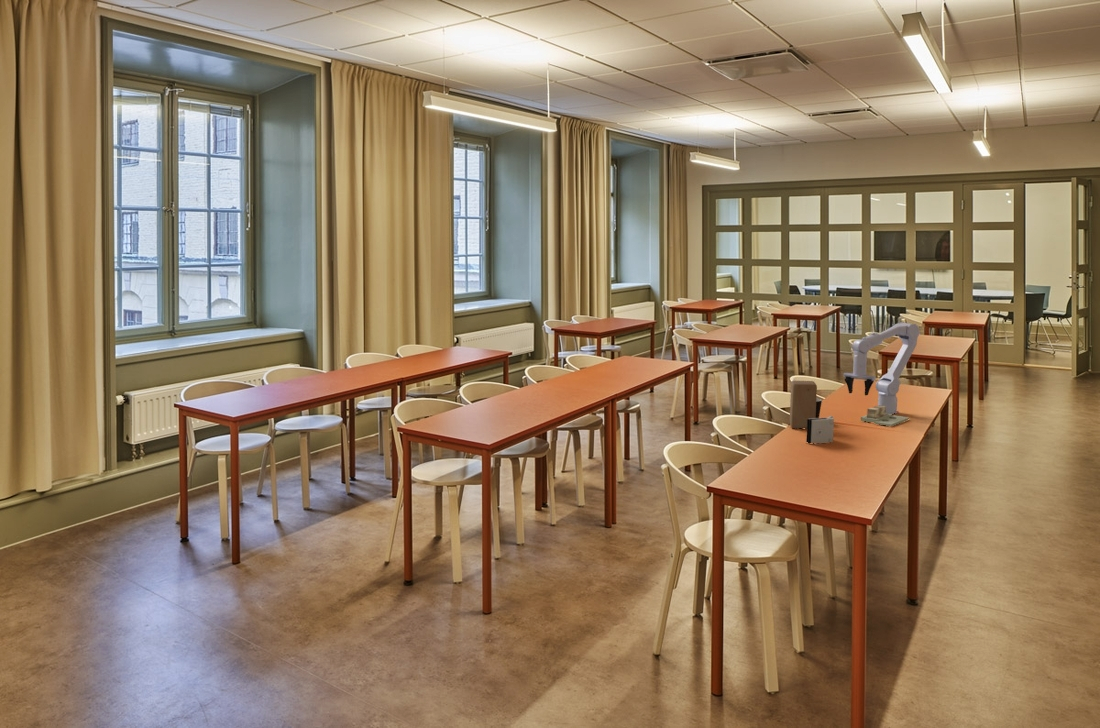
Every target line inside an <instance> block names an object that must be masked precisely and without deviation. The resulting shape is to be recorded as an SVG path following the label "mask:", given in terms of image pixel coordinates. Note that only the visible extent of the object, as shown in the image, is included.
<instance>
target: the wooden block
mask: <svg viewBox="0 0 1100 728" xmlns="http://www.w3.org/2000/svg"><path fill="white" fill-rule="evenodd" d="M817 393H818V387H817V384H816V382H815V381H813V380H792V381H791V383H790V398H789V399H790V401H789V402H790V404H789V405H790V406H789V425H790V427H791V428H792V427H793V428H805V429H804V430H807V419H811V418H816V398H817ZM793 428H792V429H793Z"/></svg>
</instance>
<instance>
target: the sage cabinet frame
mask: <svg viewBox="0 0 1100 728" xmlns="http://www.w3.org/2000/svg"><path fill="white" fill-rule="evenodd" d="M908 419H909V420H910V417H909V416H901V415H895V414H893V415H892V414H888V413H886V416H883V417H880V418H877V419H873V418H867V414H866V415H862V416H860V422H861V421H866V422H865V423H867V422H874V423H875V424H880V425H879V426H881V425H886V426H885V427H887V426H892V427H895V426H897V425H896V424H898V425H900V424H902V423H901V422H903V423H905V422H907V421H906V420H908ZM909 420H908V421H909ZM904 421H905V422H904ZM899 423H900V424H899ZM894 425H895V426H894Z"/></svg>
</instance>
